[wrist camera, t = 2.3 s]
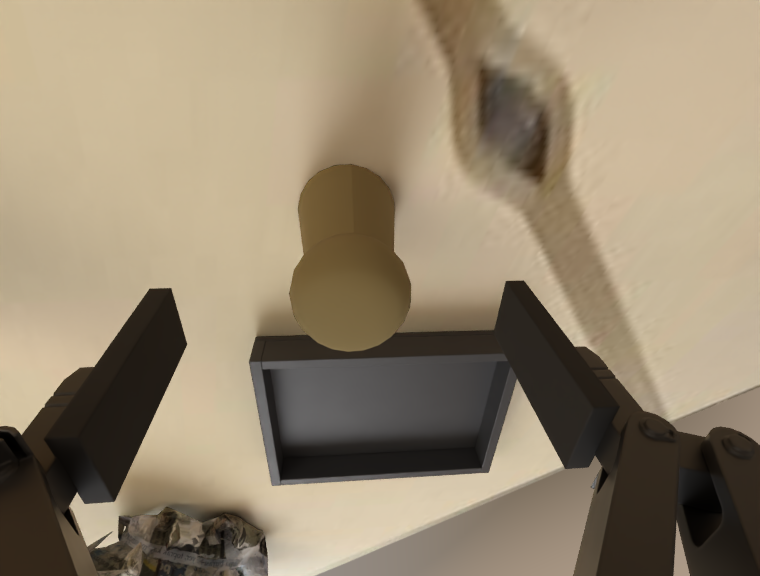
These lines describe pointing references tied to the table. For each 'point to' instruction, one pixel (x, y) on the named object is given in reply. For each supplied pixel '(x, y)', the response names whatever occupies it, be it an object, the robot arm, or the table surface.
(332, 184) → the tan pawn
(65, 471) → the robot arm
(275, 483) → the dark grey shallow tray
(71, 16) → the table surface
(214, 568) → the crumpled newspaper
